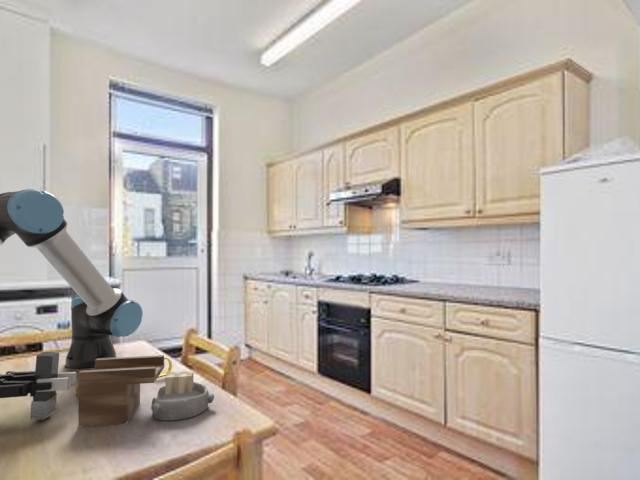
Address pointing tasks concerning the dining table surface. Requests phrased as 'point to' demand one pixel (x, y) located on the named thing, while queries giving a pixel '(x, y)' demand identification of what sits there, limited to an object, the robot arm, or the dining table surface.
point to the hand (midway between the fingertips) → (72, 380)
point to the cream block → (172, 383)
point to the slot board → (114, 388)
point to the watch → (168, 368)
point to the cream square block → (186, 382)
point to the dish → (181, 403)
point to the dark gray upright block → (46, 400)
